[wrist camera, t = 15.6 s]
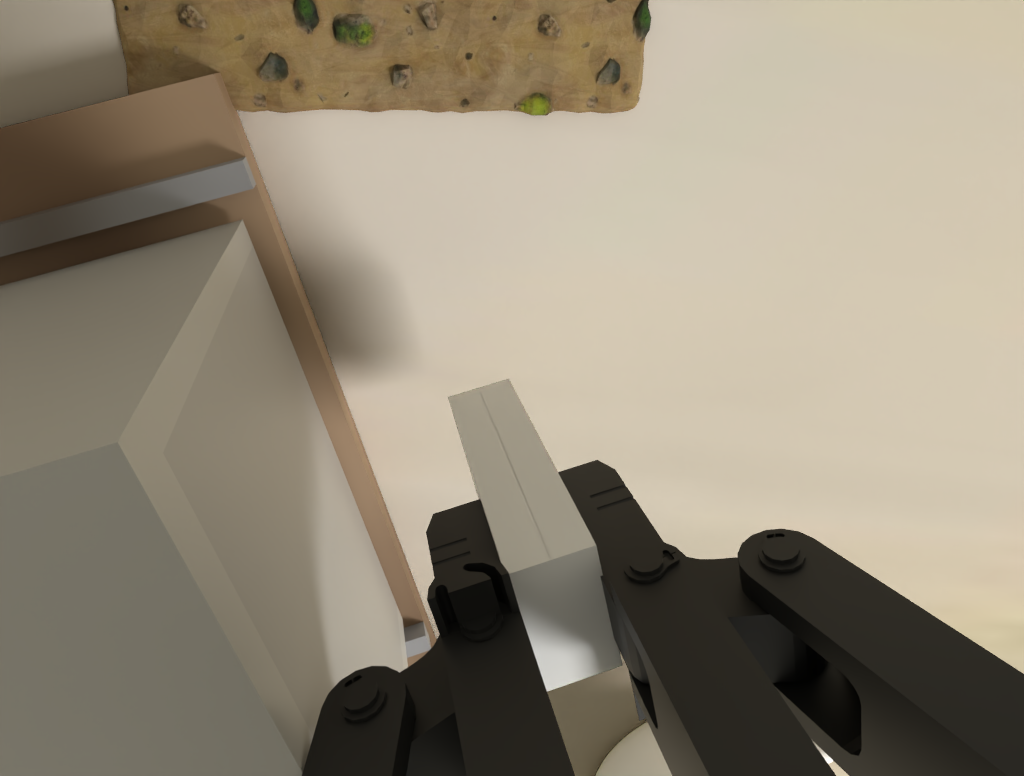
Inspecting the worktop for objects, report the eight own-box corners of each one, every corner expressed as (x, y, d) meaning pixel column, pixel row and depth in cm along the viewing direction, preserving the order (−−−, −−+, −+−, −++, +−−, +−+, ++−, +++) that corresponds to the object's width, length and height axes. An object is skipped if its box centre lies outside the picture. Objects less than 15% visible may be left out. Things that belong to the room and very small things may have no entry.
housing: (61, 732, 21) (-158, 1273, 12) (-234, 349, 15) (-1097, 803, 6) (402, 619, 22) (450, 1036, 12) (242, 219, 16) (117, 441, 7)
